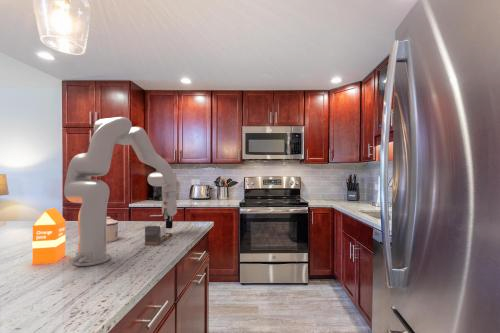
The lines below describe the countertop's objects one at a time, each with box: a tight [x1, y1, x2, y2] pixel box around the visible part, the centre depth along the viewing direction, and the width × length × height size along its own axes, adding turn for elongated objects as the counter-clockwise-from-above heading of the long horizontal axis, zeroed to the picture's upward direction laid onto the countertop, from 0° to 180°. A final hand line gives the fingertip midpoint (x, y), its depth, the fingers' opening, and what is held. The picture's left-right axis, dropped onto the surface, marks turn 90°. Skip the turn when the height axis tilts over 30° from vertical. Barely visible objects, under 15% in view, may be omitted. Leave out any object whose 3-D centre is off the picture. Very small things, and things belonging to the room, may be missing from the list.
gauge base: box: [144, 225, 173, 246], centre depth 131 cm, size 18×6×8 cm, turn 175°
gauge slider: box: [155, 223, 166, 238], centre depth 130 cm, size 6×6×6 cm
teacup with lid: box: [106, 216, 119, 243], centre depth 133 cm, size 12×9×12 cm
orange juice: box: [31, 207, 67, 265], centre depth 103 cm, size 8×9×20 cm
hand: (169, 228), depth 143 cm, fingers closed
